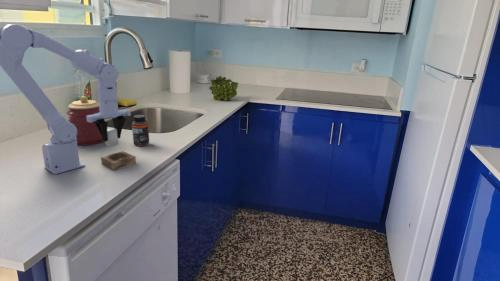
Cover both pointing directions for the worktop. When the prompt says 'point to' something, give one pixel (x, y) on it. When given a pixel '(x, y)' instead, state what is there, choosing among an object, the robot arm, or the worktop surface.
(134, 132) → the supplement bottle
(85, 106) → the canister
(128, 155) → the socket block
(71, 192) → the worktop surface
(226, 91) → the green broccoli head
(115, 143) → the plug
